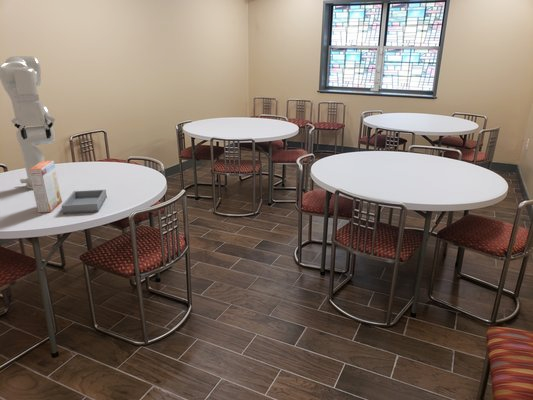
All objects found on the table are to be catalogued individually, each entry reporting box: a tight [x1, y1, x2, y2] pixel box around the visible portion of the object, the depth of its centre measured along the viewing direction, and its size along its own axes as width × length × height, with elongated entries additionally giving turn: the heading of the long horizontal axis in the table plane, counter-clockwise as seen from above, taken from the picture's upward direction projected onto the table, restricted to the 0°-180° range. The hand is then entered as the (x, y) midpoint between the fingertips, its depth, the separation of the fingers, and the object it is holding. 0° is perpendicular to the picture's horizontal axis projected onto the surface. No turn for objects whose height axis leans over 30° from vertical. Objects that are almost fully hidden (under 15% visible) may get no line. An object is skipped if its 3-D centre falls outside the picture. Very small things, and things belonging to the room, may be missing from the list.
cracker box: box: [28, 160, 63, 214], centre depth 187 cm, size 14×6×21 cm, turn 5°
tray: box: [61, 189, 108, 215], centre depth 193 cm, size 15×20×4 cm
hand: (37, 138), depth 180 cm, fingers open, 9 cm apart
